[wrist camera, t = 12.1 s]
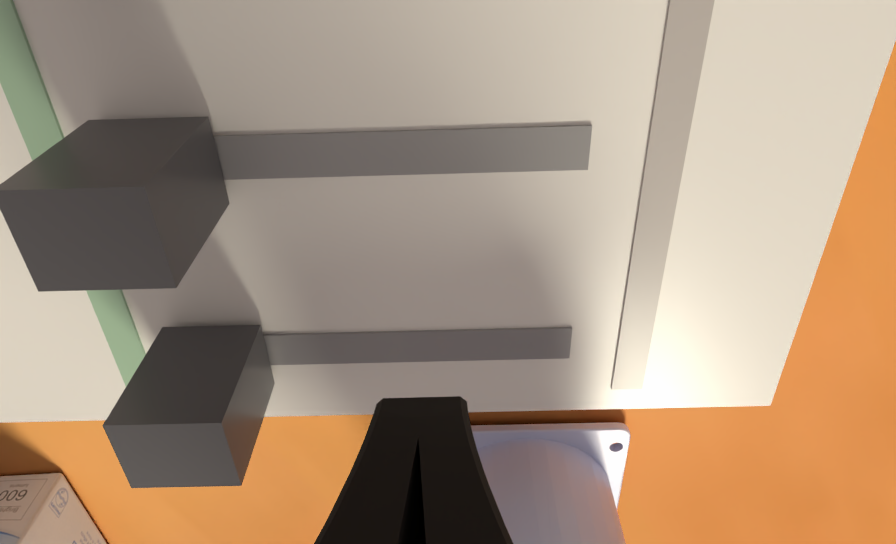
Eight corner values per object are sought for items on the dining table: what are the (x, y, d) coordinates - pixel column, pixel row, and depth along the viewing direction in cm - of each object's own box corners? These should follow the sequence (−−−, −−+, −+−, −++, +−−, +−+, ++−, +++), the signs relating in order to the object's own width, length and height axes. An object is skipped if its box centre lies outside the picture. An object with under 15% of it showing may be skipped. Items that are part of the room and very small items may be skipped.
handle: (274, 383, 21) (241, 485, 17) (182, 385, 21) (131, 487, 17) (260, 324, 19) (221, 422, 16) (162, 326, 19) (102, 425, 16)
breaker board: (747, 366, 23) (771, 407, 21) (-11, 383, 24) (-47, 425, 22) (960, -344, 13) (1042, -376, 11) (-395, -292, 13) (-525, -315, 12)
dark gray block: (229, 203, 17) (176, 288, 14) (118, 206, 17) (38, 291, 14) (208, 116, 16) (143, 186, 12) (88, 119, 16) (-9, 190, 12)
